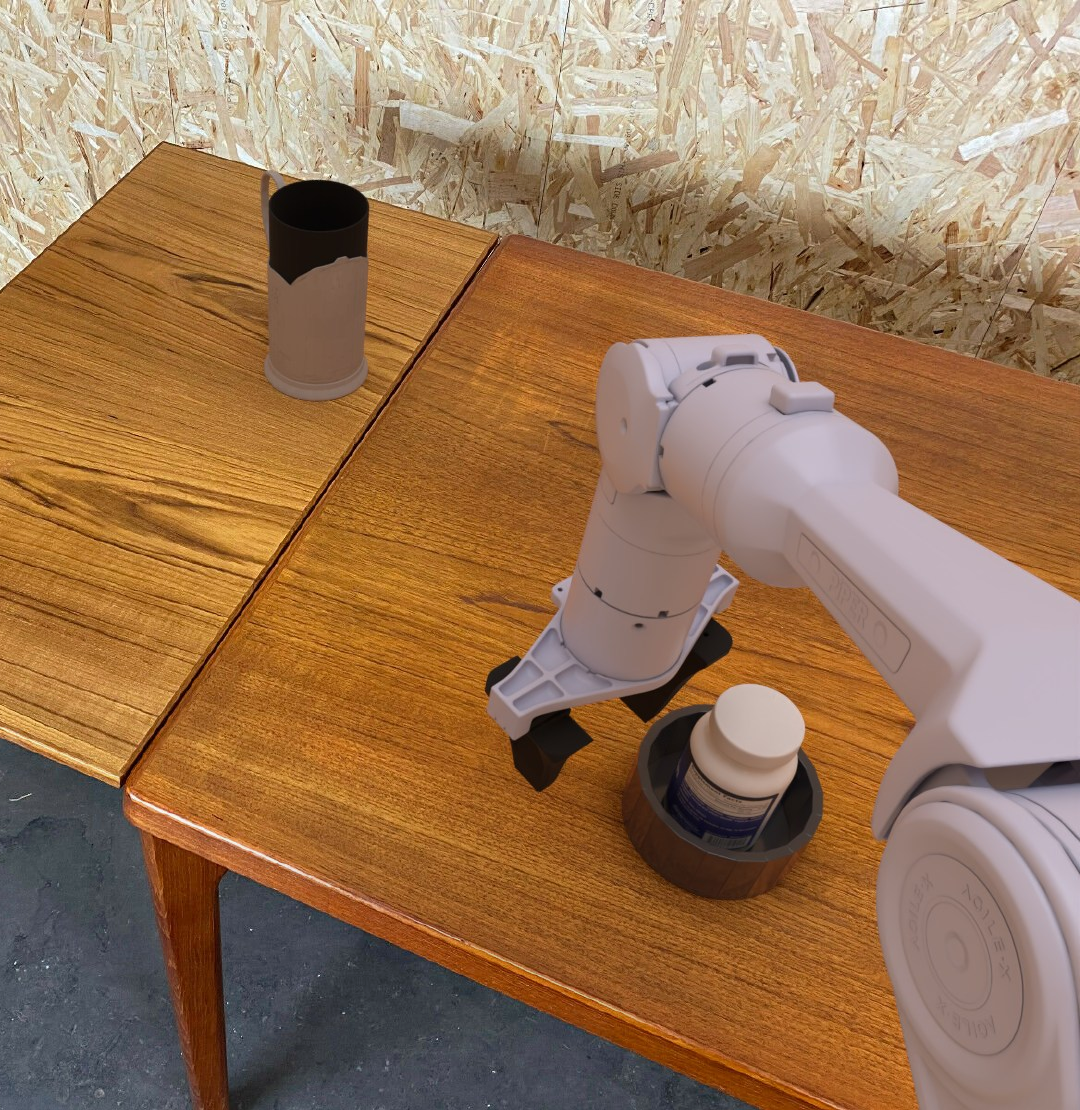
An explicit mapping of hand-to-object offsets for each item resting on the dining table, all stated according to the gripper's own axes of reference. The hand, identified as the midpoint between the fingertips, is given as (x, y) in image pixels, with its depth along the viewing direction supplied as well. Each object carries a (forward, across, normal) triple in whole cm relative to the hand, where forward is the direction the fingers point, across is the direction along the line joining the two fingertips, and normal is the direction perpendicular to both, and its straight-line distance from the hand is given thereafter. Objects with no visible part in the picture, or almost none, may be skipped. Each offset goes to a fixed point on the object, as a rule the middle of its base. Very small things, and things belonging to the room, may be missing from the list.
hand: (584, 741), depth 61 cm
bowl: (+8, -8, +5) cm, 12 cm away
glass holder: (+9, -13, -46) cm, 48 cm away
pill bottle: (+8, -8, +5) cm, 12 cm away
